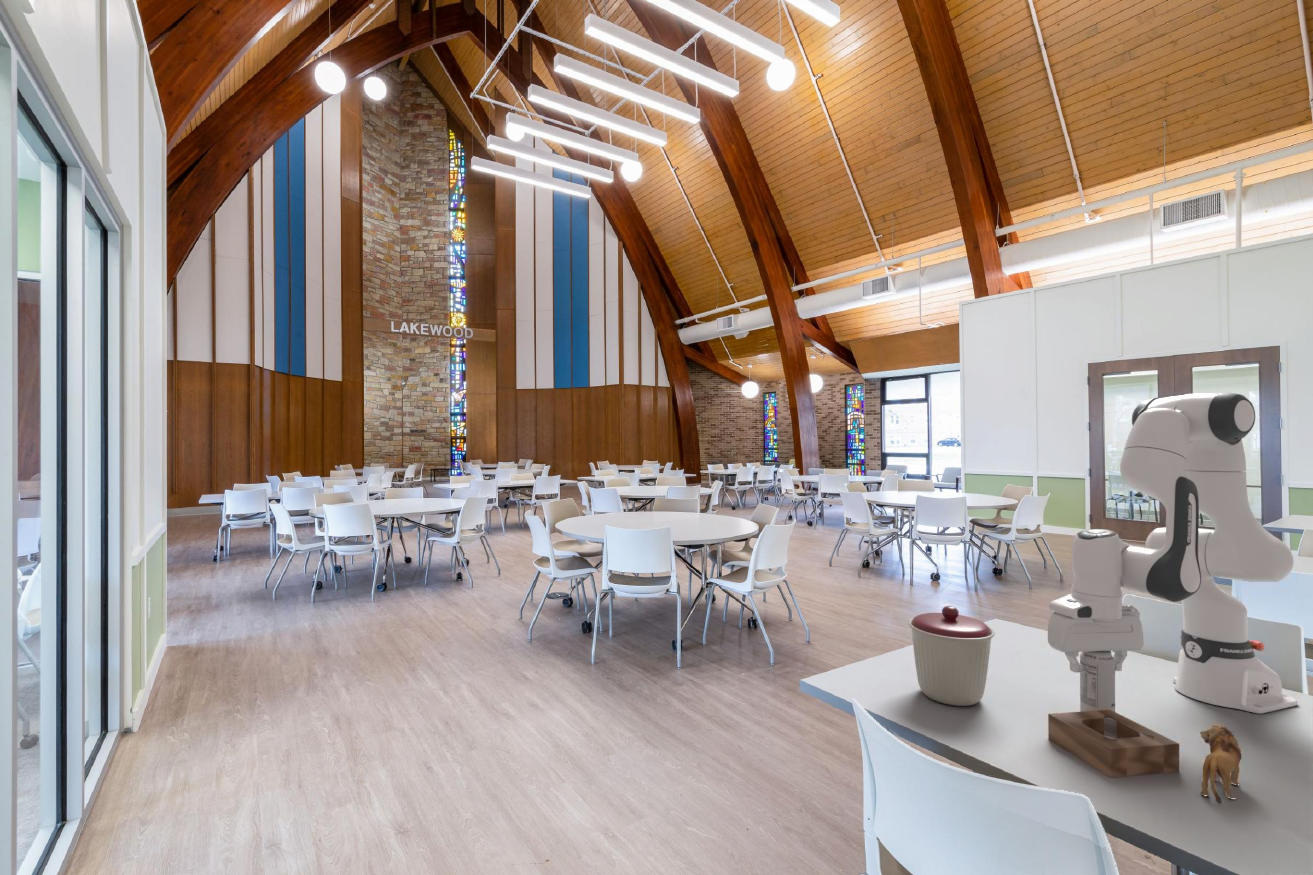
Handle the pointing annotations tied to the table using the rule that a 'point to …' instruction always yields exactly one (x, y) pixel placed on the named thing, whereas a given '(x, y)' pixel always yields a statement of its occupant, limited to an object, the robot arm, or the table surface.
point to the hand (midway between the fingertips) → (1095, 670)
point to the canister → (951, 656)
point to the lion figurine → (1220, 760)
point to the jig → (1113, 743)
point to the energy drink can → (1097, 681)
